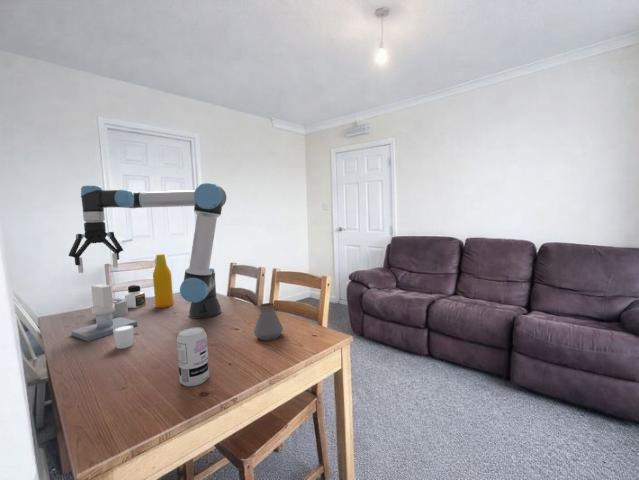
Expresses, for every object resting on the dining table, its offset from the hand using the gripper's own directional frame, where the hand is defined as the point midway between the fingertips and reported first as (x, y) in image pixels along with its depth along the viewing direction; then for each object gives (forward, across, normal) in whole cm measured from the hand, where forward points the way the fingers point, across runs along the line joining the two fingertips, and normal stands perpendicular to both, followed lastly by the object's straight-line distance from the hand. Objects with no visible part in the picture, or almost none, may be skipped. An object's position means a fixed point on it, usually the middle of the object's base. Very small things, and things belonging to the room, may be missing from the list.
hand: (99, 270), depth 139 cm
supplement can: (+27, +9, +75) cm, 80 cm away
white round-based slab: (+19, 0, -1) cm, 19 cm away
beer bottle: (+28, -36, -12) cm, 47 cm away
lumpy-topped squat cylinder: (+28, -13, -20) cm, 37 cm away
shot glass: (+28, +5, +27) cm, 39 cm away
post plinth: (+27, 0, 0) cm, 27 cm away
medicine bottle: (+28, -28, -27) cm, 48 cm away
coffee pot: (+27, -28, +68) cm, 78 cm away
